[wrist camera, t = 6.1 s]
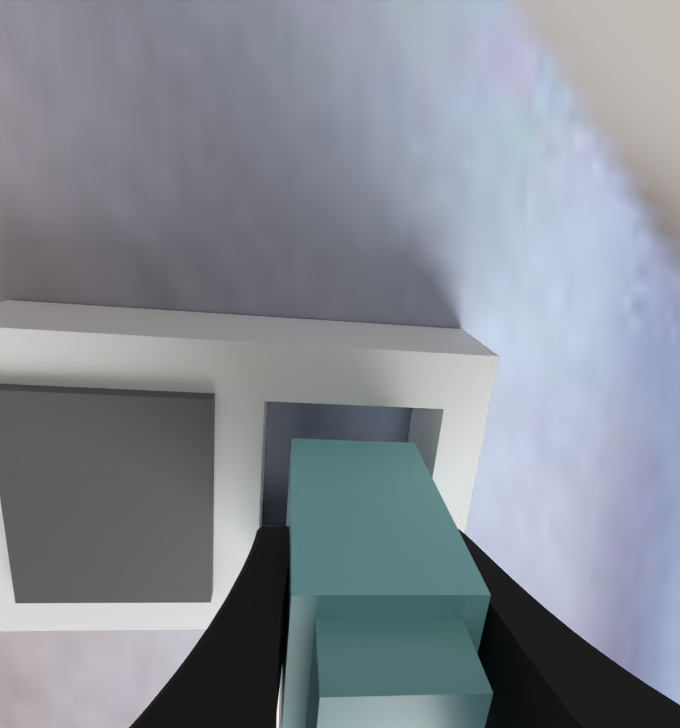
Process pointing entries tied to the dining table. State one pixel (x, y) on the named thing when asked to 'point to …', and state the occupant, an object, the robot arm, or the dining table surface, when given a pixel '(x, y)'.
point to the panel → (187, 446)
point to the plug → (378, 595)
